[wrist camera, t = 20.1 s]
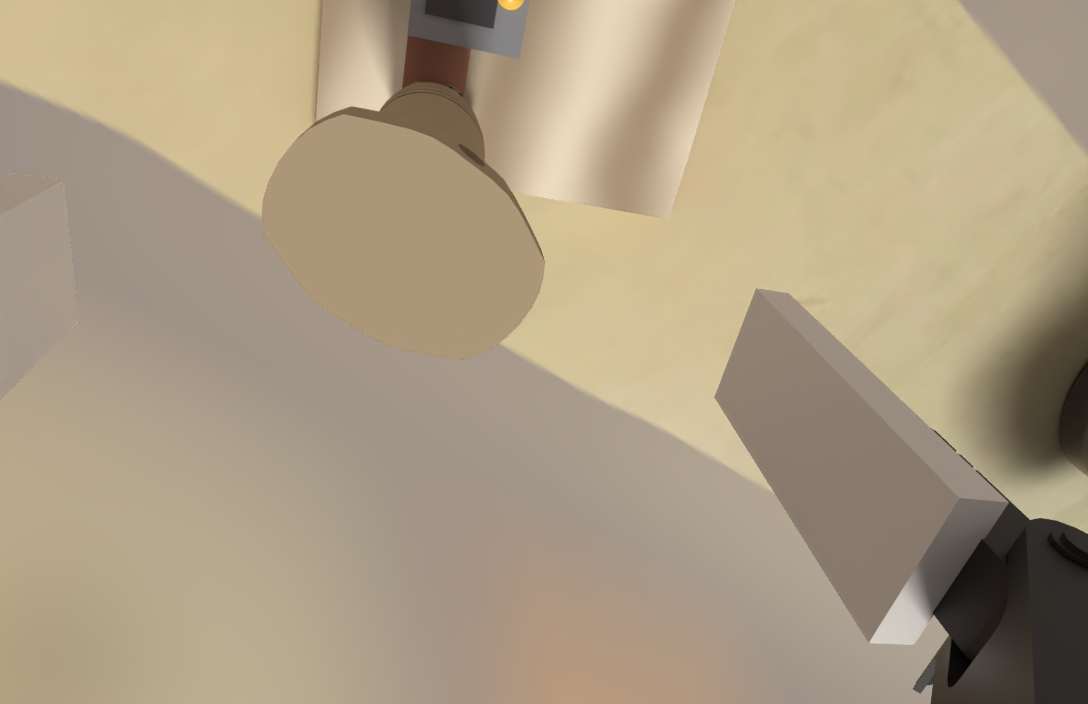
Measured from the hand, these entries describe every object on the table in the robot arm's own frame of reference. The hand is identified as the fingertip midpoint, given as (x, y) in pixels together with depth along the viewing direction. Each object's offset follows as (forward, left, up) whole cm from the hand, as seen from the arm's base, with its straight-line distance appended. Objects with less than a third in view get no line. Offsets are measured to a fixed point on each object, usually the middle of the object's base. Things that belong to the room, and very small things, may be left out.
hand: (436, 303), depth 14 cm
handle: (0, 0, -18) cm, 18 cm away
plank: (-3, -3, -19) cm, 20 cm away
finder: (-1, -5, -17) cm, 18 cm away
